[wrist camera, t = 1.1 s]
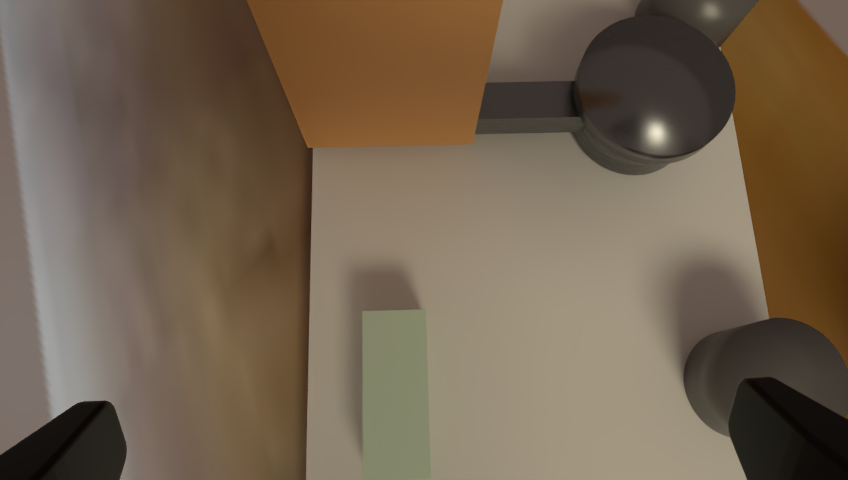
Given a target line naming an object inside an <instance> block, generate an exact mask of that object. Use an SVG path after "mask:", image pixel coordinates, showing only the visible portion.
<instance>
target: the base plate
mask: <svg viewBox="0 0 848 480" xmlns="http://www.w3.org/2000/svg"><path fill="white" fill-rule="evenodd" d="M758 1H759V0H503V4H502V8H501V13H500V18H499V22H498V27H497V32H496V37H495V41H494V46H493V51H492V55H491V60H490V65H489V70H488V74H487V79H486V83H491V82H542V81H574V78H575V74H576V71H577V68H578V66H579V64H580V62H581V59H582V57H583V55H584V53H585V51H586V49H587V47H588V46H589V44H590V43H591V41H592V40H593V39H594V38H595V37H596V36H597V35H598V34H599V33H600V32H601V31H602V30H604V29H605V28H607V27H608V26H610V25H611V24H613V23H615V22H618V21H620V20H623V19H626V18H630V17H635V16H643V15H655V16H663V17H669V18H672V19H676V20H679V21H682V22H684V23H687V24H688V25H690V26H692V27H694V28H696V29H697V30H699V31H700V32H702V33H703V34H705V35H706V36H707V37H708V38H709V39H711V40H712V41H713V42H714V44H715V45H716V46H717V47H718V48H719V49H720V51H721V48H720V46H721V45H722V44H723V43H724V41H725V40H726V39H727V38H728V37H729V35H730V34H731V33H732V32H733V31H734V29H735V28H736V27H737V26H738V25H739V23H740V22H741V21H742V20H743V19H744V17H745V16H746V15H747V14H748V13H749V11H750V10H751V9H752V8H753V7H754V6H755V4H756V3H757V2H758ZM746 377H773V378H775V379H777V380H779V381H781V382H782V383H784V384H786V385H788V386H790V387H791V388H793V389H795V390H797V391H798V392H800V393H802V394H804V395H805V396H807V397H809V398H811V399H813V400H814V401H816V402H818V403H820V404H821V405H823V406H825V407H827V408H829V409H830V410H832V411H834V412H836V413H837V414H839V415H841V416H843V417H844V418H845V416H846V413H847V411H848V371H847V368H846V365H845V363H844V361H843V359H842V357H841V355H840V353H839V352H838V351H837V349H836V348H835V346H834V345H833V344H832V343H831V342H830V341H829V340H828V339H827V338H826V337H825V336H824V335H823V334H821V333H820V332H819V331H817V330H816V329H814V328H813V327H811V326H809V325H807V324H805V323H802V322H799V321H796V320H792V319H786V318H772V319H769V315H768V310H767V304H766V299H765V293H764V288H763V282H762V276H761V271H760V265H759V260H758V254H757V249H756V243H755V237H754V232H753V226H752V221H751V215H750V209H749V204H748V198H747V193H746V187H745V182H744V176H743V170H742V165H741V159H740V154H739V148H738V143H737V137H736V131H735V126H734V120H733V115H732V113H731V116H730V118H729V120H728V122H727V124H726V125H725V127H724V128H723V129H722V131H721V132H720V133H719V134H718V135H717V136H716V137H715V138H714V139H713V140H712V141H711V142H709V143H708V144H707V145H706V146H705V147H704V148H703V149H701V150H700V151H699V152H697V153H696V154H694V155H692V156H690V157H689V158H686V159H684V160H681V161H678V162H674V163H670V164H669V165H667V166H666V167H664V168H662V169H660V170H658V171H656V172H653V173H649V174H645V175H625V174H619V173H616V172H613V171H610V170H608V169H605V168H604V167H602V166H600V165H598V164H597V163H596V162H594V161H593V160H592V159H591V158H590V157H588V156H587V155H586V153H585V152H584V151H583V150H582V149H581V147H580V145H579V144H578V142H577V140H576V138H575V136H574V133H573V132H560V133H512V134H475V136H474V140H473V144H461V145H415V146H368V147H322V148H313V172H312V219H311V266H310V314H309V361H308V408H307V455H306V480H747V479H746V476H745V474H744V471H743V469H742V466H741V464H740V461H739V459H738V456H737V454H736V451H735V449H734V446H733V443H732V441H731V438H730V435H729V431H728V420H729V415H730V412H731V408H732V404H733V400H734V397H735V393H736V389H737V386H738V383H739V382H740V381H741V380H742V379H743V378H746Z"/></svg>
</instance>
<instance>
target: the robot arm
mask: <svg viewBox="0 0 848 480" xmlns="http://www.w3.org/2000/svg"><path fill="white" fill-rule="evenodd" d="M728 431H729V435H730V438H731V441H732V443H733V446H734V449H735V451H736V454H737V456H738V459H739V461H740V464H741V466H742V469H743V471H744V474H745V476H746V479H747V480H848V419H846V418H844V417H843V416H841V415H839V414H837V413H836V412H834V411H832V410H830V409H829V408H827V407H825V406H823V405H821V404H820V403H818V402H816V401H814V400H813V399H811V398H809V397H807V396H805V395H804V394H802V393H800V392H798V391H797V390H795V389H793V388H791V387H790V386H788V385H786V384H784V383H782V382H781V381H779V380H777V379H775V378H773V377H746V378H743V379H742V380H741V381H740V382H739V383H738V386H737V389H736V393H735V397H734V400H733V404H732V408H731V412H730V415H729V420H728ZM126 452H127V448H126V441H125V438H124V435H123V432H122V429H121V426H120V423H119V420H118V417H117V413H116V410H115V408H114V406H113V405H112V404H111V403H110V402H108V401H84V402H80V403H77V404H75V405H74V406H72V407H71V408H69V409H68V410H66V411H65V412H63V413H62V414H60V415H59V416H57V417H56V418H54V419H53V420H52V421H50V422H49V423H47V424H46V425H44V426H43V427H41V428H40V429H38V430H37V431H35V432H34V433H32V434H31V435H29V436H28V437H27V438H25V439H23V440H22V441H20V442H19V443H18V444H16V445H15V446H13V447H12V448H10V449H9V450H7V451H6V452H4V453H3V454H1V455H0V480H120V476H121V473H122V470H123V467H124V463H125V459H126Z"/></svg>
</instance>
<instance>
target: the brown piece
mask: <svg viewBox="0 0 848 480" xmlns="http://www.w3.org/2000/svg"><path fill="white" fill-rule="evenodd" d="M247 3H248V5H249V7H250V10H251V12H252V15H253V17H254V20H255V22H256V24H257V27H258V29H259V32H260V34H261V36H262V39H263V41H264V44H265V46H266V48H267V51H268V53H269V56H270V58H271V60H272V63H273V65H274V68H275V70H276V73H277V75H278V77H279V80H280V82H281V85H282V87H283V89H284V92H285V94H286V97H287V99H288V101H289V104H290V106H291V109H292V111H293V114H294V116H295V118H296V121H297V123H298V126H299V128H300V130H301V133H302V135H303V138H304V140H305V142H306V145H307V147H308V148H322V147H368V146H415V145H461V144H473V140H474V136H475V134H512V133H560V132H573V133H574V136H575V138H576V140H577V142H578V144H579V145H580V147H581V149H582V150H583V151H584V152H585V153H586V155H587V156H588V157H590V158H591V159H592V160H593V161H594V162H596V163H597V164H598V165H600V166H602V167H604V168H605V169H608V170H610V171H613V172H616V173H619V174H625V175H645V174H649V173H653V172H656V171H658V170H660V169H662V168H664V167H666V166H667V165H669V164H670V163H674V162H678V161H681V160H684V159H686V158H689V157H690V156H692V155H694V154H696V153H697V152H699V151H700V150H701V149H703V148H704V147H705V146H706V145H707V144H708V143H709V142H711V141H712V140H713V139H714V138H715V137H716V136H717V135H718V134H719V133H720V132H721V131H722V129H723V128H724V127H725V125H726V124H727V122H728V120H729V118H730V116H731V113H732V111H733V107H734V102H735V83H734V78H733V74H732V71H731V68H730V66H729V63H728V62H727V60H726V58H725V56H724V55H723V53H722V52H721V51H720V49H719V48H718V47H717V46H716V45H715V44H714V42H713V41H712V40H711V39H709V38H708V37H707V36H706V35H705V34H703V33H702V32H700V31H699V30H697V29H696V28H694V27H692V26H690V25H688V24H687V23H684V22H682V21H679V20H676V19H672V18H669V17H663V16H655V15H643V16H635V17H630V18H626V19H623V20H620V21H618V22H615V23H613V24H611V25H610V26H608V27H607V28H605V29H604V30H602V31H601V32H600V33H599V34H598V35H597V36H596V37H595V38H594V39H593V40H592V41H591V43H590V44H589V46H588V47H587V49H586V51H585V53H584V55H583V57H582V59H581V62H580V64H579V66H578V68H577V71H576V74H575V78H574V81H542V82H491V83H486V79H487V74H488V70H489V65H490V60H491V55H492V51H493V46H494V41H495V37H496V32H497V27H498V22H499V18H500V13H501V8H502V4H503V0H247Z"/></svg>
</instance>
